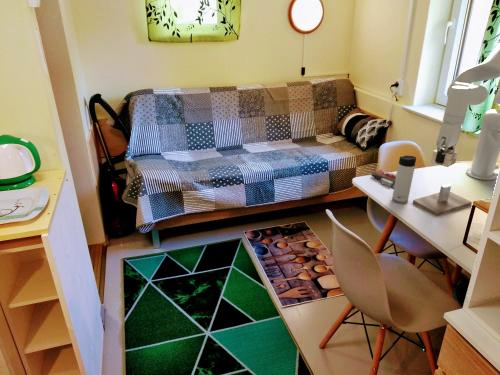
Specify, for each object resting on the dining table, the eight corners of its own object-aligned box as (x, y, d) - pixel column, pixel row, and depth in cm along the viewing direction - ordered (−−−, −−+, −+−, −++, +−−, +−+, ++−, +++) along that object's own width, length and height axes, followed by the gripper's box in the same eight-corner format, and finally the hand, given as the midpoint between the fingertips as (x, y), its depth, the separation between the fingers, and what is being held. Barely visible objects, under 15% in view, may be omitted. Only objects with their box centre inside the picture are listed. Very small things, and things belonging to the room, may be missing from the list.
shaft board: (446, 193, 167) (450, 175, 163) (471, 205, 157) (476, 186, 153) (412, 203, 159) (416, 184, 155) (436, 216, 149) (441, 197, 145)
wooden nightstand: (438, 158, 163) (441, 146, 161) (455, 162, 158) (458, 151, 156) (430, 162, 159) (433, 150, 157) (447, 167, 154) (450, 155, 152)
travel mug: (400, 205, 157) (408, 160, 148) (388, 198, 162) (396, 154, 154) (411, 202, 159) (420, 158, 150) (400, 195, 165) (408, 152, 156)
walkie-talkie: (367, 178, 181) (405, 194, 167) (369, 170, 179) (407, 185, 165) (379, 174, 186) (416, 188, 172) (380, 165, 184) (418, 179, 170)
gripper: (453, 112, 158) (444, 153, 166) (434, 120, 148) (424, 162, 156) (472, 116, 153) (461, 158, 161) (453, 124, 143) (442, 168, 151)
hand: (443, 160), depth 158 cm, fingers closed on wooden nightstand, 7 cm apart
